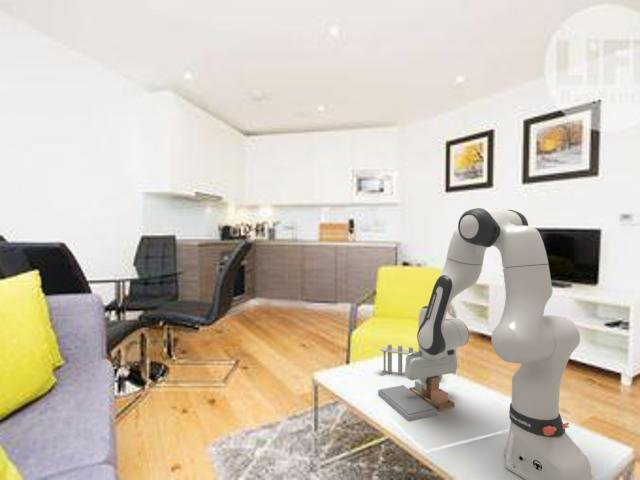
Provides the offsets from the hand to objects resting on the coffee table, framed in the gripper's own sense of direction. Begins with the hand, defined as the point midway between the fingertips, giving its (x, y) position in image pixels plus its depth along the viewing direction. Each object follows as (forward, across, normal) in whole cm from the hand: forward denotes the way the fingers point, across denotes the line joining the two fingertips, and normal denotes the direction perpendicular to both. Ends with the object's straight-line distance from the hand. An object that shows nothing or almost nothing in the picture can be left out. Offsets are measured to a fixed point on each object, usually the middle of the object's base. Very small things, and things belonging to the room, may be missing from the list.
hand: (430, 387), depth 136 cm
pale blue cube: (+4, 0, +5) cm, 6 cm away
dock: (+5, -10, 0) cm, 12 cm away
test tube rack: (+6, +5, +20) cm, 21 cm away
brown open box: (+5, 0, 0) cm, 5 cm away
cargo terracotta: (+4, 0, -4) cm, 6 cm away
